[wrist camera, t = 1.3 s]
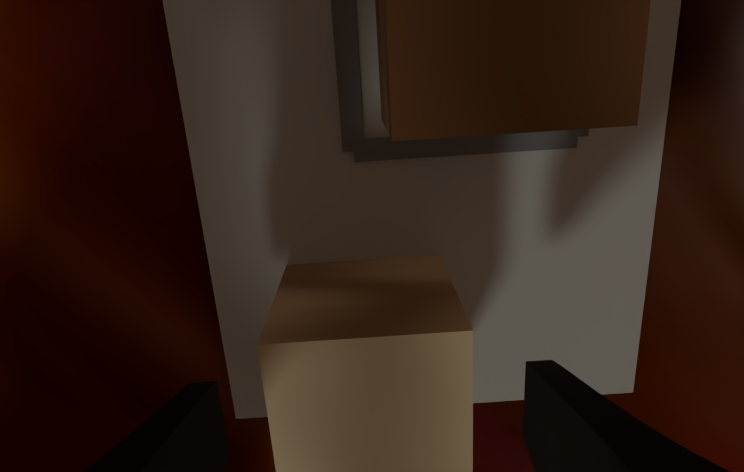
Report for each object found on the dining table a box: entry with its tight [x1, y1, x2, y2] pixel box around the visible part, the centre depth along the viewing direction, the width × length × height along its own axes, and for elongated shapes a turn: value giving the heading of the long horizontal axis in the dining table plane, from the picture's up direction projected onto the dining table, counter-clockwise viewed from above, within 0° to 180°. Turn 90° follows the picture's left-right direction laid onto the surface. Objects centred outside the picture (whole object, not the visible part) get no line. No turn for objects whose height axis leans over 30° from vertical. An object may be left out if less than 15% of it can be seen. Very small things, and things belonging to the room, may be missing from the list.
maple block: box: [257, 255, 473, 472], centre depth 13 cm, size 4×4×4 cm
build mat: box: [163, 0, 681, 419], centre depth 14 cm, size 13×16×1 cm
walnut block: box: [375, 0, 651, 141], centre depth 11 cm, size 4×4×4 cm
